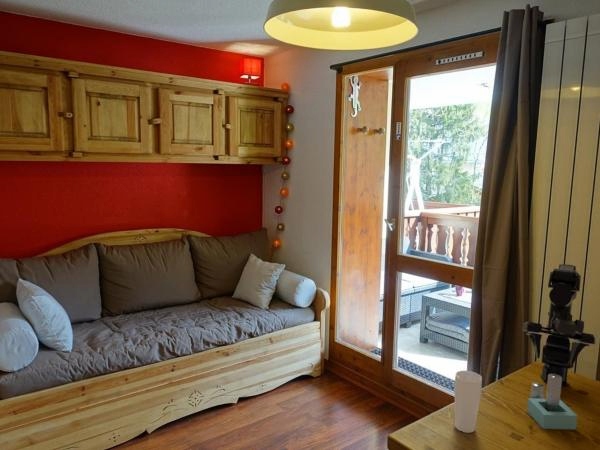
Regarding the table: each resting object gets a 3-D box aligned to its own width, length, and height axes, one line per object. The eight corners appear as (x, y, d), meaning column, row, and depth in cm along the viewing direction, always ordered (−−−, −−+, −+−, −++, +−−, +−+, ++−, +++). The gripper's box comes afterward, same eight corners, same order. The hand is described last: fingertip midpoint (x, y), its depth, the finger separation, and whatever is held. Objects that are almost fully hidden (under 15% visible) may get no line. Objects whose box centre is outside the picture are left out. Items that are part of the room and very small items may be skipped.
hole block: (557, 411, 137) (559, 398, 137) (575, 429, 128) (577, 415, 128) (527, 411, 137) (528, 398, 137) (542, 428, 128) (544, 414, 128)
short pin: (539, 396, 146) (540, 382, 146) (544, 401, 143) (546, 387, 142) (528, 396, 146) (529, 382, 146) (533, 401, 143) (535, 387, 142)
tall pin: (550, 415, 135) (554, 372, 133) (560, 422, 132) (564, 378, 130) (541, 417, 134) (545, 374, 132) (551, 424, 130) (555, 379, 129)
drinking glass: (474, 422, 131) (478, 371, 129) (481, 436, 124) (485, 382, 122) (449, 420, 131) (452, 369, 129) (454, 434, 125) (458, 380, 122)
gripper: (535, 302, 137) (529, 356, 135) (606, 315, 134) (600, 371, 131) (524, 304, 148) (518, 354, 145) (589, 316, 144) (584, 368, 141)
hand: (554, 362), depth 140 cm, fingers open, 9 cm apart
